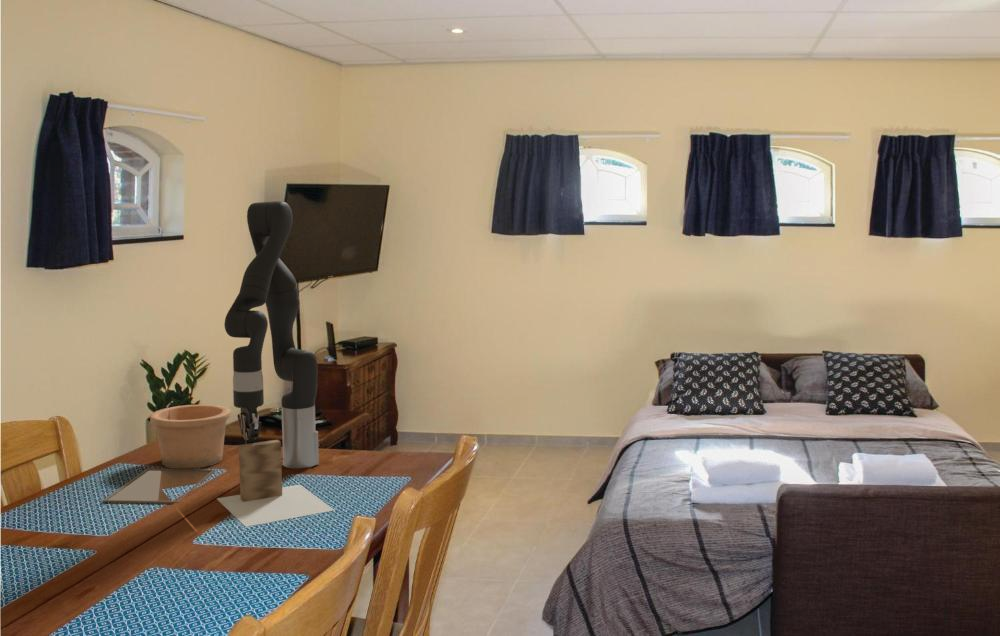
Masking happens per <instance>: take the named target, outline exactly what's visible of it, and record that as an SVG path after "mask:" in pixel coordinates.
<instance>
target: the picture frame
mask: <svg viewBox="0 0 1000 636" xmlns="http://www.w3.org/2000/svg"><path fill="white" fill-rule="evenodd" d="M215 472H216V469H199V468H196V469H173V468H146V469H145V470H144V471H142V472H141V473H139V474H138V475H136V476H135V477H133V478H132V479H131V480H129V481H127V482H126V483H124V485H122V486H121V487H119V488H118V489H116V490H115V491H113V492H112V493H111V494H109V495H108V496H107V497H105V498H104V499H102V501H101V503H102V502H111V503H110V504H135V503H154V505H156V504H157V505H175V503H180V502H181V501H182V500H183V499H184V498H185V497H187V495H189V494H190V493H191V492H192V491H193V490H195V489H196V487H198V486H199V485H200V484H203V483H204V482H205V481H207V479H209V478H210V477H211V476H212V475H213V474H214V473H215ZM187 486H192V487H191V488H190V489H189V490H187V492H186V493H184V494H183V495H182V496H181V497H179V499H177V500H171V498H170V497H169V496H168V495H167V493H165V492H164V490H168V489H174V488H181V487H187Z"/></svg>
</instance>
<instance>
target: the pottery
mask: <svg viewBox="0 0 1000 636" xmlns="http://www.w3.org/2000/svg"><path fill="white" fill-rule="evenodd" d="M149 416H150V417H149V420H150V424H152V425H154V428H155V433H156V438H157V443H158V444H157V445H158V447H159V453H160V457H161V465H162V466H164V467H165V468H167V469H200V468H201V469H203V468H207V467H212V466H214V465H216V464H219V463H220V462H222V460H223V455H224V453H223V452H224V446H225V445H224V444H225V434H226V425H227V420H229V418H231V411H230V409H229V408H227V407H225V406H222V405H217V404H202V403H201V404H186V405H177V406H171V407H165V408H161V409H158V410H156V411H154V412H152V413H151V414H150V415H149Z"/></svg>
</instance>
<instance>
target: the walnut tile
mask: <svg viewBox="0 0 1000 636" xmlns="http://www.w3.org/2000/svg"><path fill="white" fill-rule="evenodd" d="M238 461H239V465H238V466H239V488H240V489H239V491H240V492H239V495H240V497H241V500H242V501H243V502H246V501H252V500H258V499H264V498H270V497H275V496H281V495H282V487H283V476H282V475H283V474H282V473H283V472H282V442H281V441H280V440H279V439H272V440H266V441H258V442H255V443H250V444H245V443H244V444H238Z"/></svg>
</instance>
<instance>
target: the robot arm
mask: <svg viewBox="0 0 1000 636" xmlns="http://www.w3.org/2000/svg"><path fill="white" fill-rule="evenodd" d="M246 213H247V214H246V220H247V227H248V231H249V235H250V238H251V242H252V245H253V249H254V252H255V257H254V258H253V259H252V260H251V261H250V262H249V264H248V266H247V267H246V269H245V271H244V273H243V276H242V281H241V285H240V290H239V293H238V295H237V296H236V298H235V299H234V302H233V303H232V304H231V306H230V307H229V309H228V310H227V312H226V313H227V314H226V315H225V319H224V331H225V332H226V334H227V335H228V336H229V337H232V338H237V339H238V338H241V339H242V338H243V339H250V340H249V343H248V345H242V346H240V347H239V346H238V347H237V348H235V349H234V350H233V352H232V353H233V354H232V361H233V363H232V364H233V365H232V366H233V367H232V369H233V374H232V375H233V376H232V393H233V397H232V398H233V399H232V400H233V406H234V407H235V408H238V409H240V412H239V413H238V414H237V420H238V424H239V429H240V433H241V435H242V436H243V439H244V444H250V443H256V439H258V438H259V435H260V432H261V429H262V422H261V421H259V420H260V419H259V418H260V414H259V413H258V408H259V407H262V406H264V404H265V403H264V400H265V399H264V396H265V395H264V377H263V370H262V369H263V368H262V367H263V365H262V363H263V361H262V353H263V348H264V347H263V346H264V343H265V338H266V336H267V335H266V334H267V331H268V323H269V328H270V335H271V336H270V337H271V346H272V347H271V348H272V358H273V360H272V361H273V366H274V371H275V373H276V376H278V378H279V379H281V380H283V381H286V382H287V381H288V382H290V383H291V382H292V390H291V392H289V393H286V394H284V395H282V397H281V402H280V403H281V427H282V430H281V431H282V432H281V433H282V463H283V464H282V465H283V467H285V468H287V469H294V470H295V469H305V468H312V467H314V466H318V465H319V463H320V461H319V459H320V458H319V457H320V456H319V431H317V430H316V397H317V395H318V381H319V380H318V379H319V378H318V376H319V368H318V364H319V363H318V360H317V356H316V355H315V353H314V352H312V351H309V350H305V349H298V348H296V346H295V342H294V333H293V331H294V330H293V328H294V324H295V321H296V318H297V315H298V313H299V309H300V304H301V303H300V296H299V291H298V290H299V289H298V284H297V280H296V277H295V276H294V274H293V273H292V272H291V270H290V269H289V268H288V266H286V264H285V263H284V261H282V260H281V258H280V257H281V254H282V252H283V250H284V249H285V245H286V243H287V241H288V238H289V235H290V233H291V230H292V227H293V222H294V221H293V220H294V219H293V211H292V208H291V206H290V205H289V204H288V203H287V202H285V201H283V200H282V201H281V200H278V201H276V200H275V201H264V202H263V201H259V202H253V203H251V204H250V205H249V206H248V208H247V212H246ZM263 305H266V311H267V312H266V313H267V316H268V318H267V316H266V314H265V313H264V312H263V311H261V310H252V309H255V308H259V307H262V306H263Z"/></svg>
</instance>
